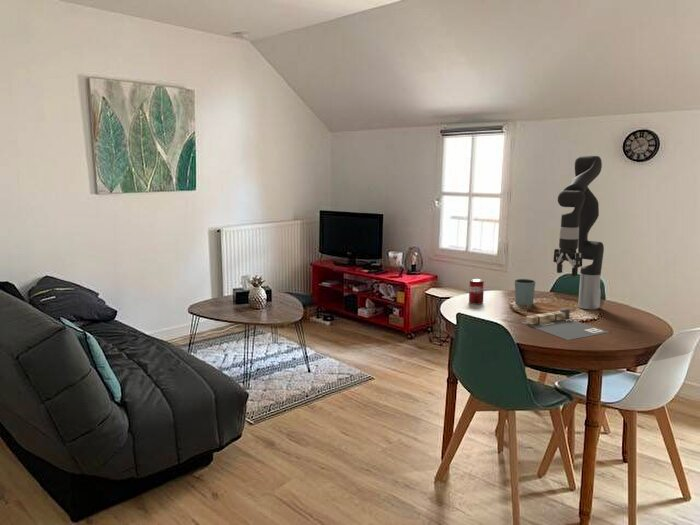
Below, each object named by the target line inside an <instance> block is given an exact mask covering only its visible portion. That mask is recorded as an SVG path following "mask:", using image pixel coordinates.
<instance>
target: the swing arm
mask: <svg viewBox="0 0 700 525" xmlns="http://www.w3.org/2000/svg"><path fill="white" fill-rule="evenodd" d="M570 311H571V309H570V308H567V307H566V308H565V307H562V308H561V307H560V308H559V310H556V311H552V312H551V311H550V312H544V313H537V314H531V315H526V317H525V321H526V323H529V324H531V325H532V324H539V323H544V322H550V321H556V320H563V319H570V315H571V312H570Z"/></svg>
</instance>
